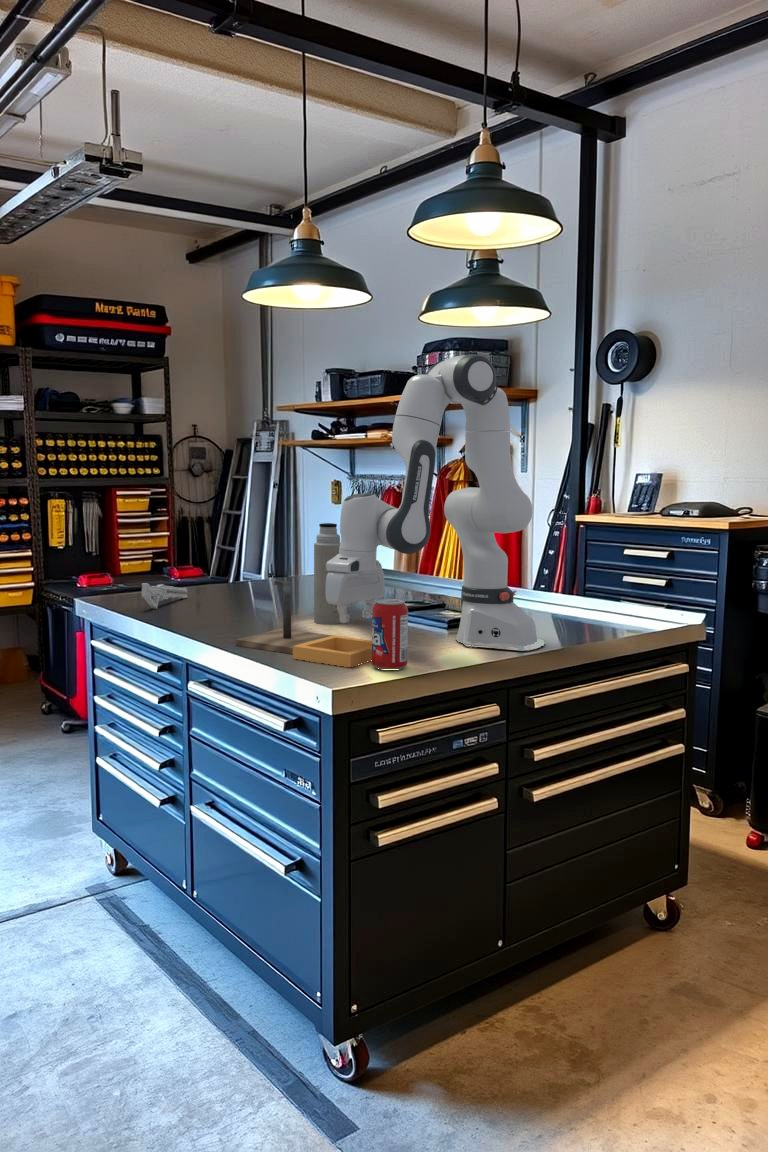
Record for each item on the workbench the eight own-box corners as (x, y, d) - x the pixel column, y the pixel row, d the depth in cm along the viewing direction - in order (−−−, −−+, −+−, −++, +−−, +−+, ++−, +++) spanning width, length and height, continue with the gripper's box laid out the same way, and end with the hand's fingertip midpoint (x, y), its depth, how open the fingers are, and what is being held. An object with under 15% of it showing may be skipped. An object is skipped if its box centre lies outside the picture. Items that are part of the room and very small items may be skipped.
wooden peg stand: (337, 641, 223) (337, 581, 221) (293, 654, 208) (293, 589, 206) (281, 634, 233) (281, 575, 231) (235, 645, 218) (234, 582, 216)
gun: (140, 608, 264) (141, 582, 265) (182, 610, 294) (183, 587, 294) (146, 608, 264) (147, 582, 264) (187, 610, 293) (188, 587, 294)
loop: (388, 655, 208) (389, 642, 208) (350, 668, 195) (350, 654, 194) (333, 647, 217) (333, 635, 216) (292, 658, 203) (292, 646, 203)
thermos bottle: (347, 622, 251) (348, 523, 248) (324, 625, 246) (325, 524, 243) (331, 618, 257) (331, 522, 254) (308, 621, 252) (308, 523, 249)
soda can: (408, 672, 192) (409, 603, 190) (372, 672, 191) (372, 603, 189) (405, 664, 199) (406, 598, 198) (370, 664, 199) (371, 598, 197)
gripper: (370, 558, 219) (368, 613, 221) (321, 563, 202) (319, 623, 203) (392, 560, 216) (390, 616, 217) (344, 565, 199) (342, 626, 200)
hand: (355, 620), depth 210 cm, fingers open, 8 cm apart
